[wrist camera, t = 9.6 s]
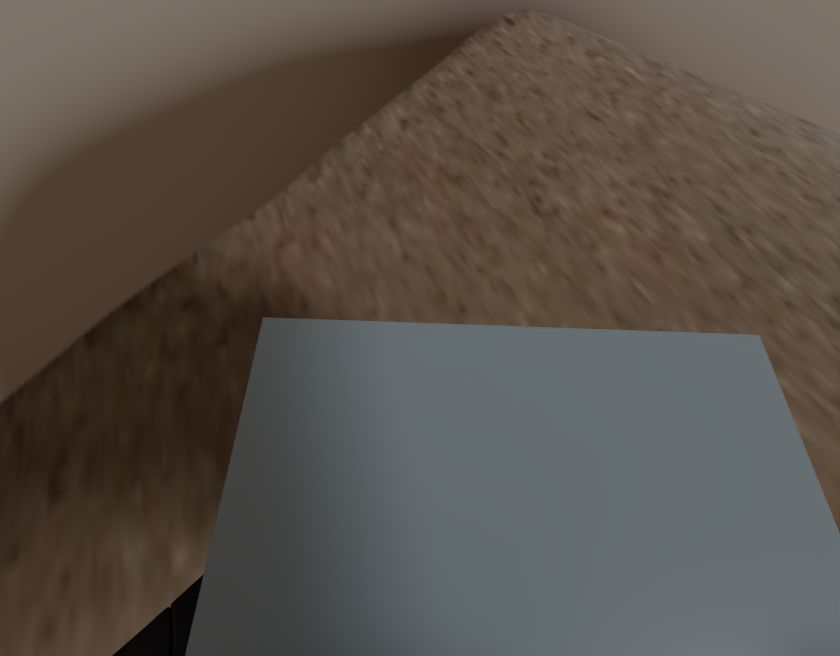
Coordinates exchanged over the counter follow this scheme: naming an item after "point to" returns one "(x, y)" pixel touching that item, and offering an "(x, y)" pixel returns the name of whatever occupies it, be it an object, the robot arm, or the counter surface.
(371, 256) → the counter surface
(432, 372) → the tall slate pillar
